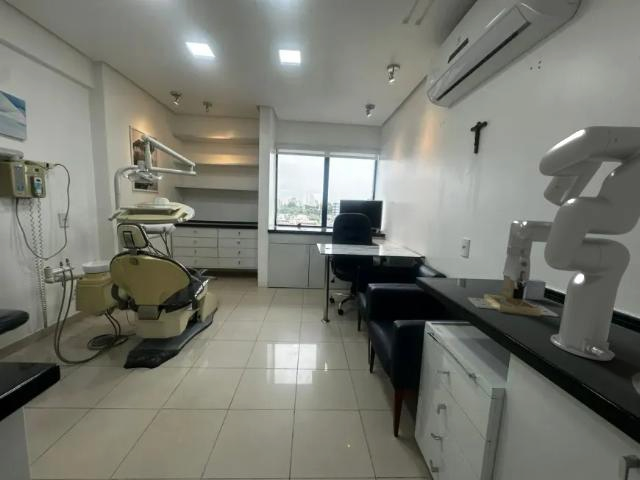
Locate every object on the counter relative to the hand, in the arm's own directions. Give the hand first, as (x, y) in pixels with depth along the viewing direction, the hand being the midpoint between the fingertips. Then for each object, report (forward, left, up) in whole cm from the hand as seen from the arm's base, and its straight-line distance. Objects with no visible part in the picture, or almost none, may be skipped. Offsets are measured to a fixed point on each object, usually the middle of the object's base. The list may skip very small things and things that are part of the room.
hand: (511, 295), depth 106 cm
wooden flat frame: (0, 0, -5) cm, 5 cm away
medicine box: (+18, -17, -5) cm, 25 cm away
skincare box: (0, 0, -5) cm, 5 cm away
